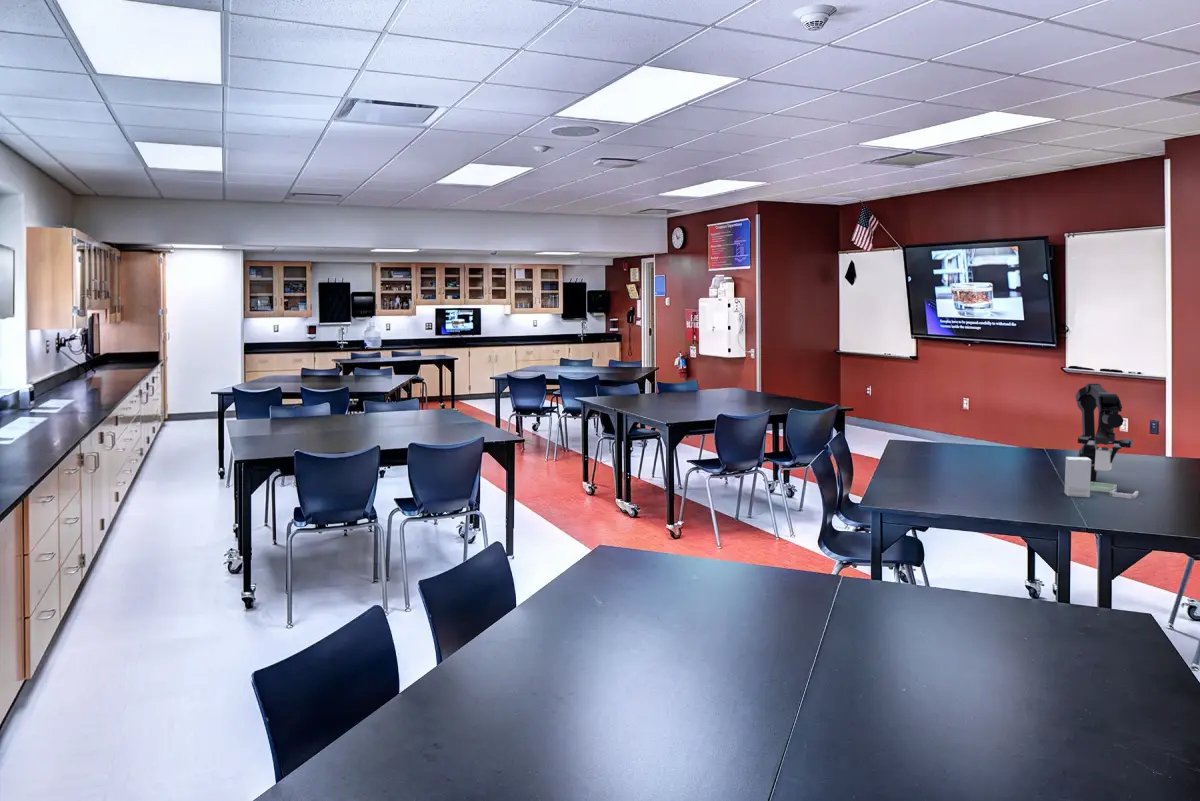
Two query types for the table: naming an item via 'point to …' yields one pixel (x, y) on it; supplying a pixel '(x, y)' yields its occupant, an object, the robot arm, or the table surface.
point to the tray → (1102, 487)
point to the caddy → (1103, 459)
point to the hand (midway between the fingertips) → (1103, 462)
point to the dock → (1123, 494)
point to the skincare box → (1077, 476)
